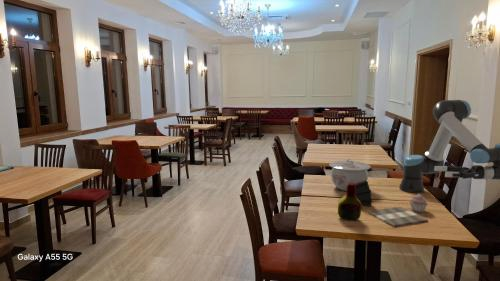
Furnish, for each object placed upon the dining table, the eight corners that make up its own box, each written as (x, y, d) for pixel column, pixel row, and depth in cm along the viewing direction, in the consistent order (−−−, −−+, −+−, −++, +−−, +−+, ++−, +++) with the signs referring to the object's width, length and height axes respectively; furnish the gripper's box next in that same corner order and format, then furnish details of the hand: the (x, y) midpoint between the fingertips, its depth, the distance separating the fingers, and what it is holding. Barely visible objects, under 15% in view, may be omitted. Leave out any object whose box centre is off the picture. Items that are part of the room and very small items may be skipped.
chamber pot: (364, 197, 209) (365, 165, 206) (322, 190, 223) (323, 161, 220) (373, 186, 232) (375, 157, 229) (335, 180, 247) (336, 153, 244)
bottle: (361, 218, 176) (363, 182, 173) (360, 222, 170) (362, 185, 167) (338, 215, 181) (339, 180, 177) (336, 219, 175) (338, 183, 172)
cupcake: (418, 206, 192) (419, 190, 191) (430, 212, 183) (432, 195, 182) (404, 208, 190) (406, 191, 188) (416, 214, 181) (418, 197, 179)
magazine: (377, 204, 191) (366, 181, 192) (355, 211, 197) (345, 188, 197) (377, 202, 195) (366, 179, 195) (355, 209, 200) (345, 186, 201)
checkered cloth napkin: (399, 208, 190) (400, 206, 190) (427, 221, 171) (428, 219, 171) (367, 212, 184) (368, 211, 183) (393, 227, 165) (393, 225, 165)
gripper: (494, 185, 167) (449, 184, 170) (468, 173, 191) (430, 172, 194) (496, 171, 166) (451, 170, 168) (469, 160, 190) (431, 160, 193)
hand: (439, 171), depth 181 cm, fingers open, 13 cm apart
